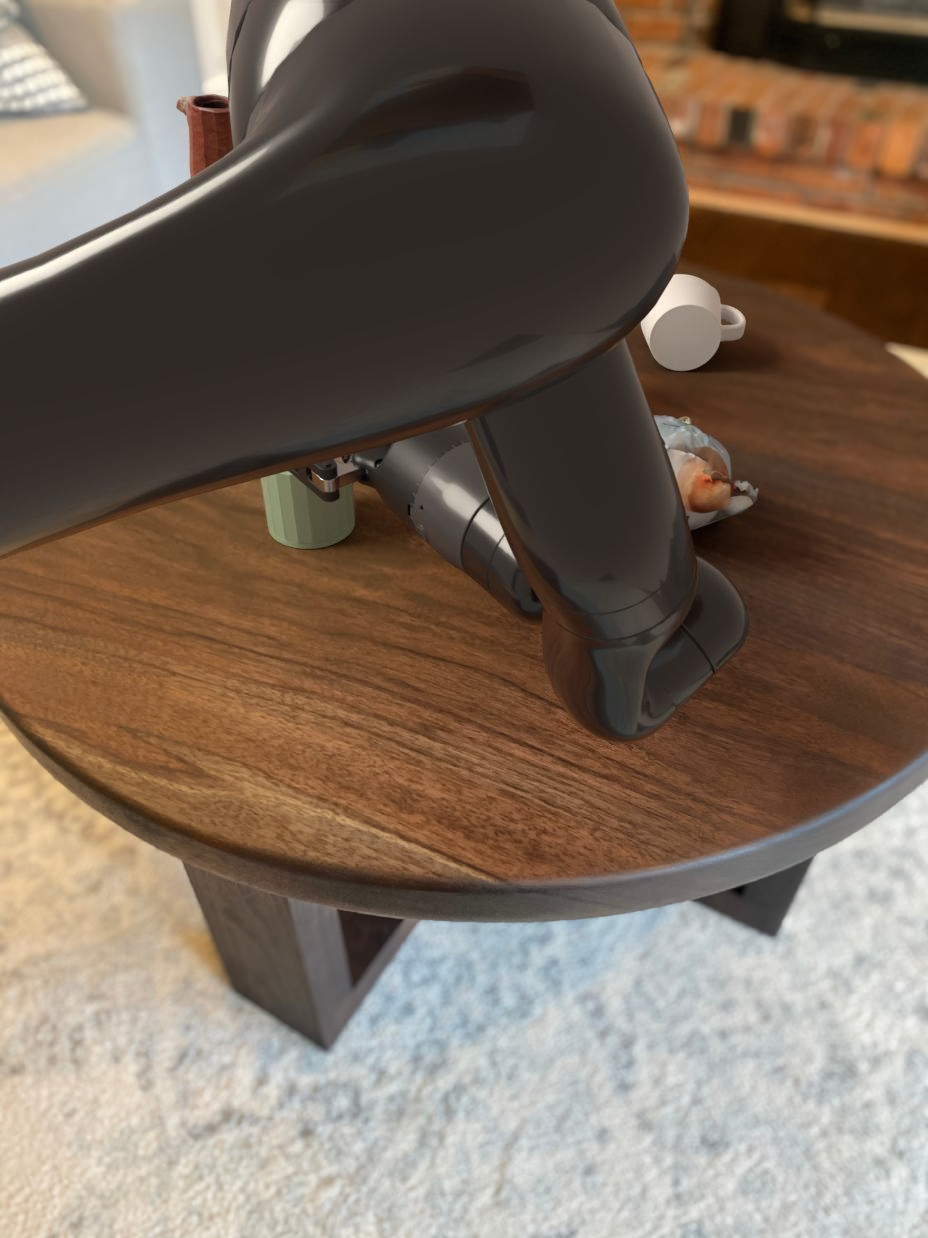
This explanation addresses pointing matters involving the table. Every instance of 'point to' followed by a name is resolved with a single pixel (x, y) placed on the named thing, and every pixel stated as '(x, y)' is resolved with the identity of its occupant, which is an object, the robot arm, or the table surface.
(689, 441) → the white snowman head
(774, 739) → the table surface
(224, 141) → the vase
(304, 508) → the pen cup
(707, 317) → the mug
